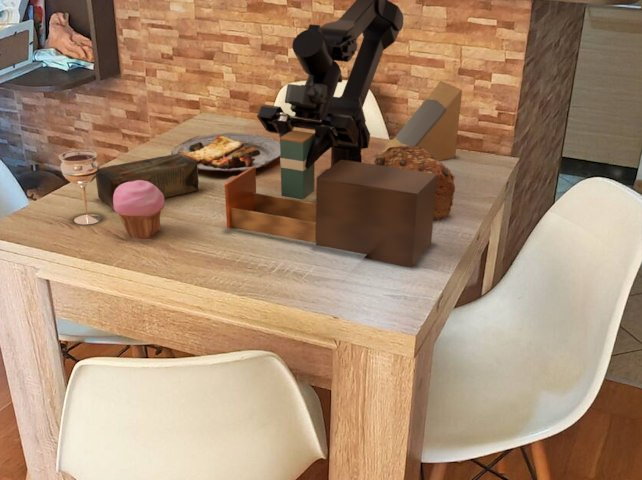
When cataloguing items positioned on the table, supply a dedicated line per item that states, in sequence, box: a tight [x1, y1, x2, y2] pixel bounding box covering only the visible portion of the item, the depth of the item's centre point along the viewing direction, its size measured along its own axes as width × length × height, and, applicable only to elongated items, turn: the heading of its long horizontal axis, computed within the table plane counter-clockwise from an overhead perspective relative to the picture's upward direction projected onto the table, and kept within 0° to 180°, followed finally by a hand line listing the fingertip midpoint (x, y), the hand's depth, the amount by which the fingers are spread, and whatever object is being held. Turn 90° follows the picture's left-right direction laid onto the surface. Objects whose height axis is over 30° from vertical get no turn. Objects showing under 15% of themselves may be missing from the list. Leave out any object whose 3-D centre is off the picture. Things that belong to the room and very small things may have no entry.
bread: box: [373, 146, 456, 220], centre depth 157 cm, size 19×11×10 cm, turn 13°
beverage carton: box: [95, 153, 200, 210], centre depth 161 cm, size 8×19×7 cm, turn 126°
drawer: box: [224, 166, 316, 244], centre depth 147 cm, size 19×10×9 cm, turn 65°
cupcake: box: [113, 180, 165, 240], centre depth 144 cm, size 9×9×10 cm
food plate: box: [170, 132, 281, 174], centre depth 181 cm, size 25×23×4 cm
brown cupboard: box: [315, 160, 437, 268], centre depth 139 cm, size 18×10×13 cm, turn 65°
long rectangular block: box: [279, 129, 315, 201], centre depth 152 cm, size 5×5×11 cm
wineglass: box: [58, 149, 102, 225], centre depth 150 cm, size 7×7×12 cm
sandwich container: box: [380, 80, 463, 161], centre depth 180 cm, size 9×15×15 cm, turn 116°
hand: (294, 165), depth 151 cm, fingers closed on long rectangular block, 4 cm apart
